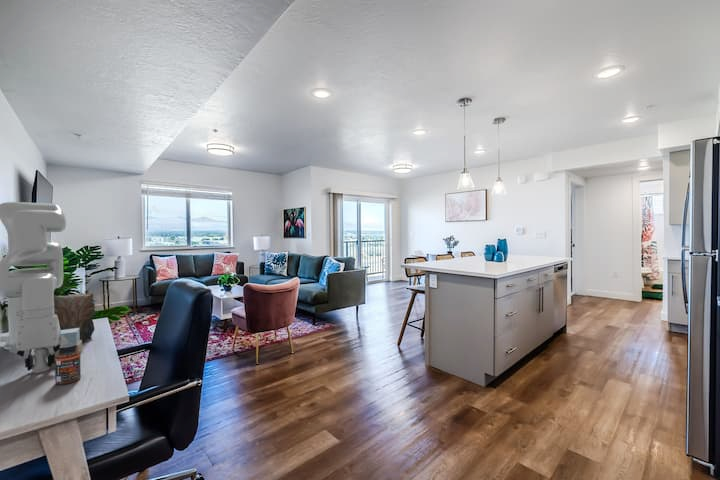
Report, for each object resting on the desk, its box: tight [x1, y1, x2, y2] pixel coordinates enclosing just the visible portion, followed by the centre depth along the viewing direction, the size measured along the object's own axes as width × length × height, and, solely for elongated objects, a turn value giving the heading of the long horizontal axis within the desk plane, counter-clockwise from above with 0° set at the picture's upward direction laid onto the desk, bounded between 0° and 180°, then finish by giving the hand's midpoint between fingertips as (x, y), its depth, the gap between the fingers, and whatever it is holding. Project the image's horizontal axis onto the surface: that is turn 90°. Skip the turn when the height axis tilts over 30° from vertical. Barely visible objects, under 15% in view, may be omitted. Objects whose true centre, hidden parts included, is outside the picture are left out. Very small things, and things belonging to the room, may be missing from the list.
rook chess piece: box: [30, 347, 51, 374], centre depth 107 cm, size 4×4×8 cm
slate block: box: [55, 328, 80, 347], centre depth 119 cm, size 6×6×5 cm
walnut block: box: [55, 340, 83, 356], centre depth 119 cm, size 7×7×5 cm
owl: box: [54, 292, 96, 343], centre depth 136 cm, size 13×13×20 cm
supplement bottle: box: [54, 343, 82, 386], centre depth 99 cm, size 6×6×11 cm
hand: (40, 366), depth 107 cm, fingers closed on rook chess piece, 4 cm apart
